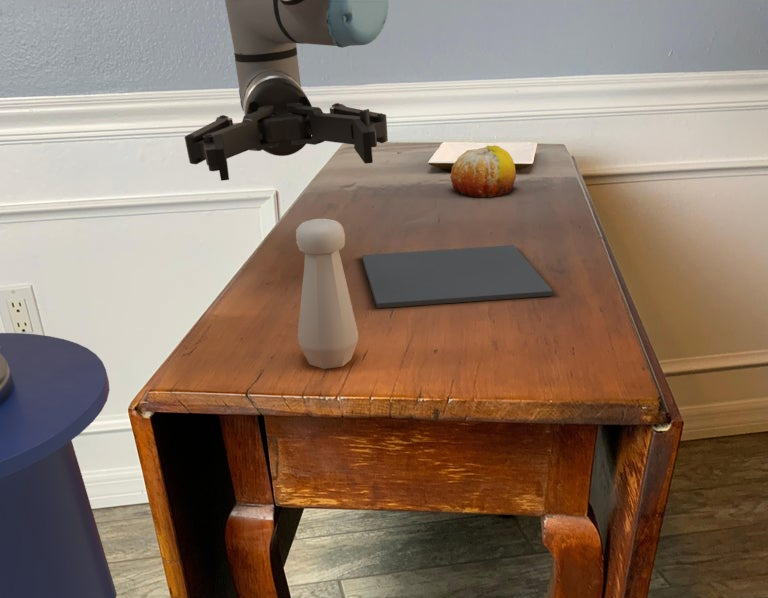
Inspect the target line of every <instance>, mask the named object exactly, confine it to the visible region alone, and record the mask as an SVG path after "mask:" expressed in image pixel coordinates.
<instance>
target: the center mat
mask: <svg viewBox="0 0 768 598" xmlns="http://www.w3.org/2000/svg"><path fill="white" fill-rule="evenodd" d="M361 260H362V263H363V267H364V270H365V272H366V276H367V280H368V284H369V287H370V290H371V293H372V296H373V301H374V303H375V306H376V309H387V308H403V307H415V306H416V307H417V306H429V305H443V304H456V303H470V302H484V301H497V300H499V301H500V300H501V301H502V300H514V299H526V298H527V299H528V298H539V297H543V298H544V297H552V296H553V295H554V290H553V289H552V288H551V287H550V285H548V283H547V282H546V281H545V280H544V279H543V278H542V277H541V275H540V274H539V272H537V270H536V269H535V268H534V267H533V266H532V265H531V264H530V262H529V261H528V260H527V259H526V257H524V256H523V254H522V253H521V252H520V251H519V249H517V247H516V246H515V245H514V244H510V245H508V244H507V245H495V246H494V245H493V246H480V247H464V248H450V249H436V250H435V249H434V250H420V251H419V250H418V251H406V252H405V251H403V252H387V253H375V254H374V253H373V254H362V255H361Z"/></svg>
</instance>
